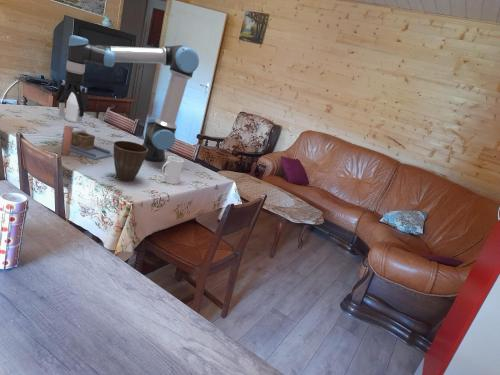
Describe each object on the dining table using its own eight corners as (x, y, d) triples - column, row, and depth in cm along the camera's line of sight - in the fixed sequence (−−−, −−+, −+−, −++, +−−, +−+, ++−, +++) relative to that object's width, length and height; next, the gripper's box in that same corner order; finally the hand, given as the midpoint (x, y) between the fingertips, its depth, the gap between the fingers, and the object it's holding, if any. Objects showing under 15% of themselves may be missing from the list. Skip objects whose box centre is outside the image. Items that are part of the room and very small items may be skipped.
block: (93, 148, 186) (95, 136, 184) (82, 150, 179) (84, 137, 176) (80, 143, 187) (82, 131, 185) (69, 145, 180) (71, 132, 178)
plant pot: (147, 183, 165) (154, 152, 160) (118, 185, 154) (124, 151, 149) (131, 171, 174) (137, 141, 169) (102, 172, 162) (107, 140, 157)
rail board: (112, 156, 187) (114, 141, 185) (94, 160, 174) (96, 145, 172) (81, 144, 191) (83, 130, 189) (61, 147, 178) (63, 132, 175)
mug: (163, 185, 169) (168, 162, 165) (153, 178, 174) (158, 155, 170) (182, 183, 178) (187, 161, 175) (172, 177, 183) (177, 155, 179)
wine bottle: (66, 117, 233) (71, 72, 224) (81, 120, 236) (87, 76, 227) (63, 120, 225) (68, 73, 215) (79, 123, 228) (85, 77, 219)
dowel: (71, 154, 172) (74, 127, 168) (65, 156, 169) (69, 128, 165) (65, 152, 173) (68, 125, 169) (59, 153, 170) (62, 125, 165)
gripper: (101, 79, 160) (94, 126, 167) (61, 66, 164) (56, 112, 171) (89, 78, 153) (83, 127, 160) (48, 64, 157) (44, 112, 164)
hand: (69, 119), depth 165 cm, fingers open, 9 cm apart
